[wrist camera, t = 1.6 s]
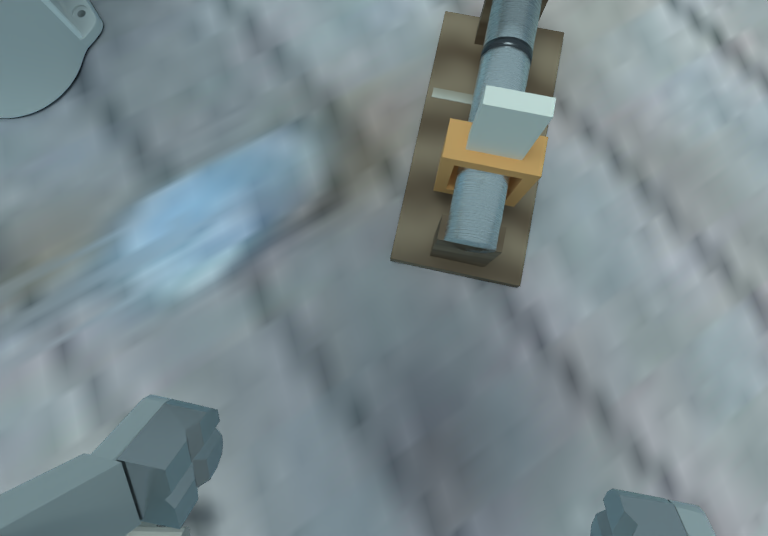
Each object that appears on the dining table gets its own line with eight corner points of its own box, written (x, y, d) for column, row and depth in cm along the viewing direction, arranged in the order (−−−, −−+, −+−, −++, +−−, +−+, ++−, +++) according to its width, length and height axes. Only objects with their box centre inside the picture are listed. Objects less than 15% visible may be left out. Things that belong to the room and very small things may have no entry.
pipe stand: (516, 287, 41) (546, 275, 33) (390, 260, 41) (389, 242, 33) (559, 40, 44) (595, -24, 37) (444, 19, 45) (454, -48, 37)
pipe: (490, 256, 35) (502, 245, 31) (440, 245, 35) (446, 233, 31) (538, -3, 39) (555, -43, 35) (492, -11, 39) (504, -52, 35)
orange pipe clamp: (513, 206, 37) (577, 136, 24) (433, 190, 38) (453, 113, 25) (519, 174, 38) (584, 88, 25) (440, 158, 38) (463, 66, 25)
